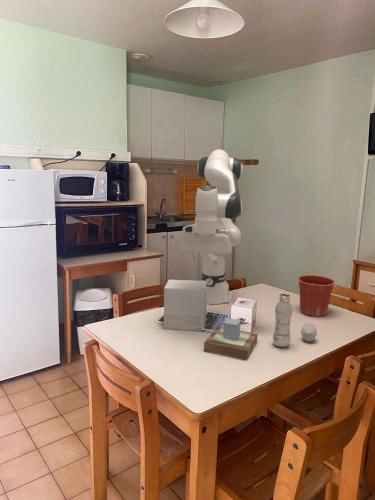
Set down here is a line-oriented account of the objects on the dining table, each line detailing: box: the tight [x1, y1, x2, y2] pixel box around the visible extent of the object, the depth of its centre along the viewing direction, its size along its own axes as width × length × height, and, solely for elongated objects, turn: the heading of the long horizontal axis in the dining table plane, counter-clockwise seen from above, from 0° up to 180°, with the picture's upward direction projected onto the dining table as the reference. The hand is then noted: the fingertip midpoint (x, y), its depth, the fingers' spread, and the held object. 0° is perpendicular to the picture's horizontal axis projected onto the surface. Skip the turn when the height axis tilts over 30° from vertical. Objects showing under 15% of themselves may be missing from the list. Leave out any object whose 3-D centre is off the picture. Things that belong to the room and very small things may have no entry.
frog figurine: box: [300, 322, 318, 342], centre depth 148 cm, size 6×7×7 cm
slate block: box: [223, 317, 242, 340], centre depth 141 cm, size 5×5×6 cm
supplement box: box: [163, 279, 207, 332], centre depth 161 cm, size 17×13×18 cm
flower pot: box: [297, 274, 336, 318], centre depth 177 cm, size 16×16×16 cm
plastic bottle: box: [272, 293, 294, 348], centre depth 142 cm, size 6×7×20 cm
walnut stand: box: [203, 326, 259, 361], centre depth 142 cm, size 16×16×4 cm
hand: (205, 263), depth 148 cm, fingers open, 8 cm apart
